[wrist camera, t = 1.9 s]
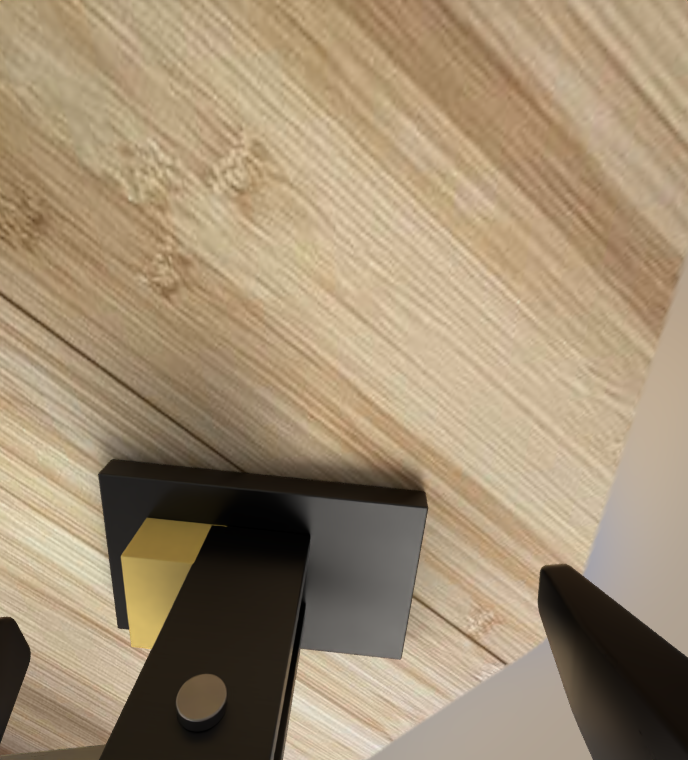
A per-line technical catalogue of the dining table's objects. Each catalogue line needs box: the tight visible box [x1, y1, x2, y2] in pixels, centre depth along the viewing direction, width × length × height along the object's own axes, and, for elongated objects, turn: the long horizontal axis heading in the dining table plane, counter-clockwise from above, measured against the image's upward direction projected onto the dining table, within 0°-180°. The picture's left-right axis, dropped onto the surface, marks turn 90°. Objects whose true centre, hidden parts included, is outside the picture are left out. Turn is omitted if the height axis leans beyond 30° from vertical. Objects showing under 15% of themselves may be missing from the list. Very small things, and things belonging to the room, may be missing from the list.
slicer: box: [98, 460, 428, 760], centre depth 18 cm, size 14×9×11 cm, turn 85°
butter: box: [121, 518, 227, 649], centre depth 21 cm, size 5×4×2 cm
